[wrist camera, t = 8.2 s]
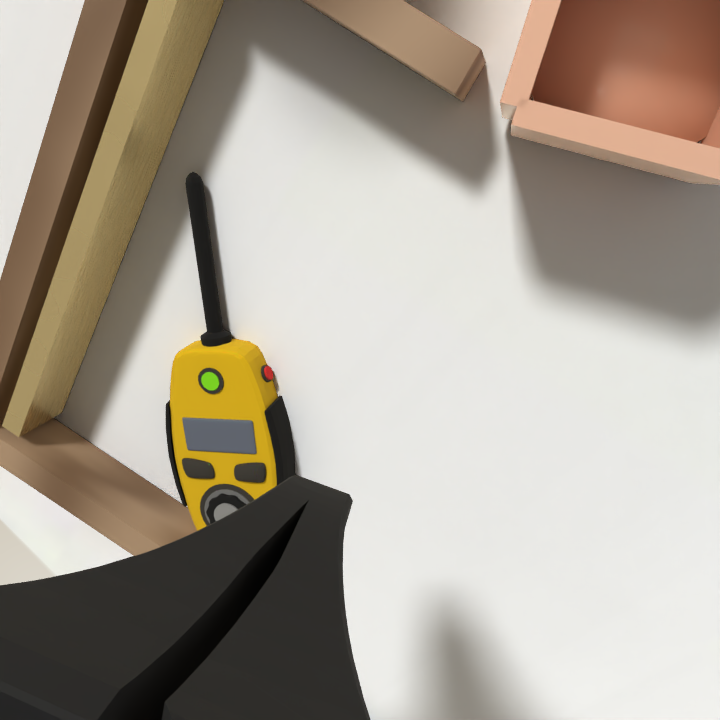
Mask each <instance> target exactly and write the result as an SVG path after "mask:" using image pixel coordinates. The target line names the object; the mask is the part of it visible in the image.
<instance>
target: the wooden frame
mask: <svg viewBox="0 0 720 720" xmlns="http://www.w3.org/2000/svg"><path fill="white" fill-rule="evenodd" d="M302 1H303V2H305V3H306V4H308V5H310V6H311V7H313V8H314V9H316V10H318V11H319V12H321V13H322V14H324V15H325V16H327V17H329V18H330V19H332V20H333V21H335V22H337V23H338V24H340V25H341V26H343V27H345V28H346V29H348V30H349V31H351V32H353V33H354V34H356V35H357V36H359V37H360V38H362V39H364V40H365V41H367V42H368V43H370V44H372V45H373V46H375V47H376V48H378V49H380V50H381V51H383V52H384V53H386V54H387V55H389V56H391V57H392V58H394V59H395V60H397V61H399V62H400V63H402V64H403V65H405V66H407V67H408V68H410V69H411V70H413V71H415V72H416V73H418V74H419V75H421V76H422V77H424V78H426V79H427V80H429V81H430V82H432V83H434V84H435V85H437V86H438V87H440V88H442V89H443V90H445V91H446V92H448V93H450V94H451V95H453V96H454V97H456V98H457V99H459V100H461V101H462V102H463V101H464V99H465V97H466V96H467V94H468V92H469V91H470V89H471V87H472V85H473V84H474V82H475V80H476V79H477V77H478V75H479V74H480V72H481V70H482V68H483V67H484V65H485V63H486V62H485V59H484V56H483V53H482V50H481V49H480V48H479V47H477V46H476V45H474V44H472V43H471V42H469V41H468V40H466V39H464V38H463V37H461V36H460V35H458V34H456V33H455V32H453V31H452V30H450V29H448V28H447V27H445V26H444V25H442V24H440V23H439V22H437V21H436V20H434V19H432V18H431V17H429V16H428V15H426V14H424V13H423V12H421V11H420V10H418V9H416V8H415V7H413V6H412V5H410V4H408V3H407V2H405V1H404V0H302ZM147 3H148V0H85V2H84V5H83V8H82V12H81V15H80V18H79V21H78V25H77V28H76V31H75V35H74V38H73V41H72V45H71V48H70V51H69V55H68V58H67V61H66V64H65V68H64V71H63V74H62V78H61V81H60V84H59V88H58V91H57V94H56V97H55V101H54V104H53V107H52V111H51V114H50V117H49V121H48V124H47V127H46V130H45V134H44V137H43V140H42V144H41V147H40V150H39V154H38V157H37V160H36V164H35V167H34V170H33V173H32V177H31V180H30V183H29V187H28V190H27V193H26V197H25V200H24V203H23V206H22V210H21V213H20V216H19V220H18V223H17V226H16V230H15V233H14V236H13V240H12V243H11V246H10V249H9V253H8V256H7V259H6V263H5V266H4V269H3V273H2V276H1V279H0V466H2V467H3V468H4V469H6V470H7V471H9V472H10V473H12V474H13V475H15V476H16V477H18V478H19V479H21V480H22V481H24V482H25V483H27V484H28V485H30V486H31V487H33V488H34V489H36V490H37V491H39V492H40V493H42V494H43V495H45V496H46V497H48V498H49V499H51V500H52V501H53V502H55V503H56V504H58V505H59V506H61V507H62V508H64V509H65V510H67V511H68V512H70V513H71V514H73V515H74V516H76V517H77V518H79V519H80V520H82V521H83V522H85V523H86V524H88V525H89V526H91V527H92V528H94V529H95V530H97V531H98V532H100V533H101V534H102V535H104V536H105V537H107V538H108V539H110V540H111V541H113V542H114V543H116V544H117V545H119V546H120V547H122V548H123V549H125V550H126V551H128V552H129V553H131V554H132V555H134V556H136V555H139V554H142V553H145V552H148V551H151V550H154V549H156V548H159V547H161V546H164V545H166V544H169V543H171V542H174V541H176V540H178V539H181V538H183V537H185V536H187V535H190V534H192V533H194V532H196V531H197V529H196V527H195V525H194V522H193V520H192V517H191V514H190V512H189V509H188V508H187V507H184V506H183V504H181V503H180V502H178V501H177V500H175V499H174V498H172V497H171V496H169V495H168V494H166V493H165V492H163V491H162V490H160V489H159V488H157V487H156V486H154V485H153V484H151V483H150V482H148V481H147V480H145V479H144V478H142V477H141V476H139V475H138V474H136V473H135V472H133V471H132V470H130V469H129V468H127V467H126V466H124V465H123V464H121V463H120V462H118V461H117V460H115V459H114V458H112V457H111V456H109V455H108V454H106V453H105V452H103V451H102V450H100V449H99V448H97V447H96V446H94V445H93V444H91V443H90V442H88V441H87V440H85V439H84V438H82V437H81V436H79V435H78V434H76V433H75V432H73V431H72V430H70V429H69V428H67V427H66V426H64V425H63V424H61V423H60V422H58V421H57V420H55V419H54V418H52V419H50V420H48V421H47V422H45V423H43V424H41V425H40V426H38V427H36V428H34V429H32V430H31V431H29V432H27V433H25V434H24V435H22V436H20V437H18V436H16V435H15V434H13V433H12V432H10V431H9V430H7V429H6V428H4V427H3V426H2V424H3V422H4V419H5V416H6V413H7V410H8V407H9V404H10V401H11V398H12V395H13V392H14V390H15V387H16V384H17V381H18V378H19V375H20V372H21V369H22V366H23V363H24V361H25V358H26V355H27V352H28V349H29V346H30V343H31V340H32V337H33V334H34V331H35V329H36V326H37V323H38V320H39V317H40V314H41V311H42V308H43V305H44V302H45V299H46V297H47V294H48V291H49V288H50V285H51V282H52V279H53V276H54V273H55V270H56V268H57V265H58V262H59V259H60V256H61V253H62V250H63V247H64V244H65V241H66V238H67V236H68V233H69V230H70V227H71V224H72V221H73V218H74V215H75V212H76V209H77V207H78V204H79V201H80V198H81V195H82V192H83V189H84V186H85V183H86V180H87V177H88V175H89V172H90V169H91V166H92V163H93V160H94V157H95V154H96V151H97V148H98V145H99V143H100V140H101V137H102V134H103V131H104V128H105V125H106V122H107V119H108V116H109V114H110V111H111V108H112V105H113V102H114V99H115V96H116V93H117V90H118V87H119V84H120V82H121V79H122V76H123V73H124V70H125V67H126V64H127V61H128V58H129V55H130V53H131V50H132V47H133V44H134V41H135V38H136V35H137V32H138V29H139V26H140V23H141V21H142V18H143V15H144V12H145V9H146V6H147Z"/></svg>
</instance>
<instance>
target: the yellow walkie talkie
mask: <svg viewBox="0 0 720 720" xmlns="http://www.w3.org/2000/svg"><path fill="white" fill-rule="evenodd" d="M186 190H187V197H188V204H189V210H190V217H191V224H192V231H193V238H194V245H195V252H196V258H197V265H198V272H199V279H200V286H201V293H202V300H203V306H204V313H205V320H206V327H207V332H206V333H204V334H203V335H201V340H200V341H195V342H194V343H192V344H190V345H188V346H187V347H185V348H184V349H182V350H181V351H179V352H178V353H177V354H176V356H175V358H174V361H173V366H172V373H171V385H170V400H169V402H168V403H167V404H166V434H167V444H168V452H169V458H170V463H171V467H172V471H173V475H174V479H175V483H176V486H177V489H178V492H179V495H180V498H181V500H182V503H183V506H184V507H186V506H188V509H189V512H190V514H191V517H192V520H193V522H194V525H195V527H196V529H197V531H198V530H200V529H202V528H204V527H206V526H208V525H210V524H212V523H214V522H216V521H218V520H220V519H222V518H224V517H226V516H227V515H229V514H231V513H233V512H234V511H236V510H238V509H240V508H241V507H243V506H245V505H246V504H248V503H250V502H252V501H253V500H255V499H257V498H258V497H260V496H261V495H263V494H265V493H266V492H268V491H269V490H271V489H272V488H274V487H275V486H277V485H279V484H280V483H282V482H283V481H285V480H286V479H288V478H289V477H291V476H294V475H295V458H294V446H293V440H292V434H291V429H290V423H289V419H288V415H287V412H286V408H285V405H284V402H283V399H282V396H279V397H278V396H277V392H276V389H275V386H274V383H273V371H272V369H271V368H270V367H269V366H268V365H267V363H266V361H265V359H264V357H263V354H262V352H261V351H260V349H259V348H258V346H256V345H254V344H253V343H251V342H249V341H244V340H238V339H231V333H230V332H229V331H226V330H223V326H222V319H221V312H220V304H219V297H218V290H217V283H216V275H215V268H214V261H213V253H212V246H211V239H210V232H209V224H208V217H207V210H206V202H205V195H204V188H203V182H202V179H201V177H200V176H199V175H198V174H197V173H194V172H191V173H190V174H189V175H188V176H187V178H186Z"/></svg>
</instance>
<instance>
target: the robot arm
mask: <svg viewBox="0 0 720 720" xmlns="http://www.w3.org/2000/svg"><path fill="white" fill-rule="evenodd" d="M352 502H353V501H352V499H351V497H350V495H349V494H347V493H344V492H341V491H338V490H336V489H333V488H330V487H328V486H325V485H322V484H319V483H317V482H314V481H311V480H308V479H306V478H303V477H300V476H297V475H294V476H291V477H289V478H288V479H286V480H285V481H283V482H282V483H280V484H279V485H277V486H275V487H274V488H272V489H271V490H269V491H268V492H266V493H265V494H263V495H261V496H260V497H258V498H257V499H255V500H253V501H252V502H250V503H248V504H246V505H245V506H243V507H241V508H240V509H238V510H236V511H234V512H233V513H231V514H229V515H227V516H226V517H224V518H222V519H220V520H218V521H216V522H214V523H212V524H210V525H208V526H206V527H204V528H202V529H200V530H198V531H196V532H194V533H192V534H190V535H187V536H185V537H183V538H181V539H178V540H176V541H174V542H171V543H169V544H166V545H164V546H161V547H159V548H156V549H154V550H151V551H148V552H145V553H142V554H139V555H136V556H132V557H129V558H126V559H123V560H119V561H116V562H113V563H109V564H106V565H103V566H99V567H95V568H91V569H87V570H83V571H79V572H75V573H70V574H65V575H60V576H56V577H51V578H46V579H41V580H35V581H29V582H22V583H15V584H8V585H0V720H370V717H369V714H368V711H367V708H366V705H365V701H364V698H363V694H362V690H361V686H360V682H359V679H358V675H357V671H356V667H355V663H354V659H353V654H352V649H351V644H350V638H349V633H348V626H347V619H346V612H345V602H344V589H343V539H344V530H345V526H346V522H347V519H348V516H349V512H350V509H351V505H352Z"/></svg>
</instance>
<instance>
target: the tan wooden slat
mask: <svg viewBox="0 0 720 720" xmlns="http://www.w3.org/2000/svg"><path fill="white" fill-rule="evenodd" d="M223 2H224V0H148V3H147V6H146V9H145V12H144V15H143V18H142V21H141V23H140V26H139V29H138V32H137V35H136V38H135V41H134V44H133V47H132V50H131V53H130V55H129V58H128V61H127V64H126V67H125V70H124V73H123V76H122V79H121V82H120V84H119V87H118V90H117V93H116V96H115V99H114V102H113V105H112V108H111V111H110V114H109V116H108V119H107V122H106V125H105V128H104V131H103V134H102V137H101V140H100V143H99V145H98V148H97V151H96V154H95V157H94V160H93V163H92V166H91V169H90V172H89V175H88V177H87V180H86V183H85V186H84V189H83V192H82V195H81V198H80V201H79V204H78V207H77V209H76V212H75V215H74V218H73V221H72V224H71V227H70V230H69V233H68V236H67V238H66V241H65V244H64V247H63V250H62V253H61V256H60V259H59V262H58V265H57V268H56V270H55V273H54V276H53V279H52V282H51V285H50V288H49V291H48V294H47V297H46V299H45V302H44V305H43V308H42V311H41V314H40V317H39V320H38V323H37V326H36V329H35V331H34V334H33V337H32V340H31V343H30V346H29V349H28V352H27V355H26V358H25V361H24V363H23V366H22V369H21V372H20V375H19V378H18V381H17V384H16V387H15V390H14V392H13V395H12V398H11V401H10V404H9V407H8V410H7V413H6V416H5V419H4V422H3V424H2V426H3V427H4V428H6V429H7V430H9V431H10V432H12V433H13V434H15V435H16V436H18V437H20V436H22V435H24V434H25V433H27V432H29V431H31V430H32V429H34V428H36V427H38V426H40V425H41V424H43V423H45V422H47V421H48V420H50V419H52V418H54V417H55V416H57V415H59V414H61V413H62V411H63V409H64V406H65V404H66V401H67V398H68V396H69V393H70V391H71V388H72V386H73V383H74V381H75V378H76V376H77V373H78V371H79V368H80V365H81V363H82V360H83V358H84V355H85V353H86V350H87V348H88V345H89V343H90V340H91V337H92V335H93V332H94V330H95V327H96V325H97V322H98V320H99V317H100V315H101V312H102V310H103V307H104V304H105V302H106V299H107V297H108V294H109V292H110V289H111V287H112V284H113V282H114V279H115V277H116V274H117V271H118V269H119V266H120V264H121V261H122V259H123V256H124V254H125V251H126V249H127V246H128V243H129V241H130V238H131V236H132V233H133V231H134V228H135V226H136V223H137V221H138V218H139V216H140V213H141V210H142V208H143V205H144V203H145V200H146V198H147V195H148V193H149V190H150V188H151V185H152V182H153V180H154V177H155V175H156V172H157V170H158V167H159V165H160V162H161V160H162V157H163V155H164V152H165V149H166V147H167V144H168V142H169V139H170V137H171V134H172V132H173V129H174V127H175V124H176V122H177V119H178V116H179V114H180V111H181V109H182V106H183V104H184V101H185V99H186V96H187V94H188V91H189V88H190V86H191V83H192V81H193V78H194V76H195V73H196V71H197V68H198V66H199V63H200V61H201V58H202V55H203V53H204V50H205V48H206V45H207V43H208V40H209V38H210V35H211V33H212V30H213V28H214V25H215V22H216V20H217V17H218V15H219V12H220V10H221V7H222V5H223Z"/></svg>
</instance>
